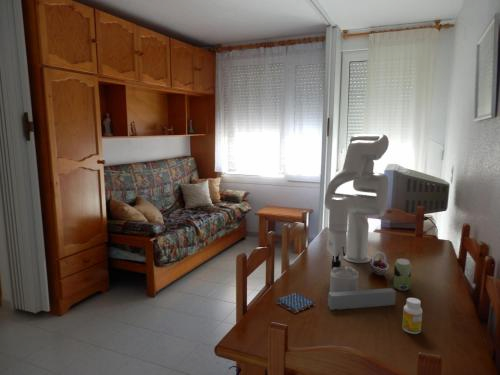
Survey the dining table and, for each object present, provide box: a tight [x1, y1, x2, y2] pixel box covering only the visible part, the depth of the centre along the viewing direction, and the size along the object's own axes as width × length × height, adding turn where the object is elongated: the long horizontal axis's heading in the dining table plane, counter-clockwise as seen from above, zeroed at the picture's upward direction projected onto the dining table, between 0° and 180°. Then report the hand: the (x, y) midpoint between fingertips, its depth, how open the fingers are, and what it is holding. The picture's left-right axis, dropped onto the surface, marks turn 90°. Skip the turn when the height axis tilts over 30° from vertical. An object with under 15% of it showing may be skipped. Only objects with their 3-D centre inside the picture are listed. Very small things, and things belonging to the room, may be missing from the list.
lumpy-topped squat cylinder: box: [329, 265, 360, 292], centre depth 143 cm, size 10×13×9 cm
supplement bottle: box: [401, 297, 423, 335], centre depth 114 cm, size 5×5×10 cm
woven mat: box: [275, 292, 316, 314], centre depth 131 cm, size 10×11×2 cm
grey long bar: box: [327, 287, 397, 311], centre depth 130 cm, size 3×24×5 cm, turn 100°
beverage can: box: [393, 258, 412, 292], centre depth 143 cm, size 6×7×12 cm
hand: (335, 270), depth 152 cm, fingers closed
